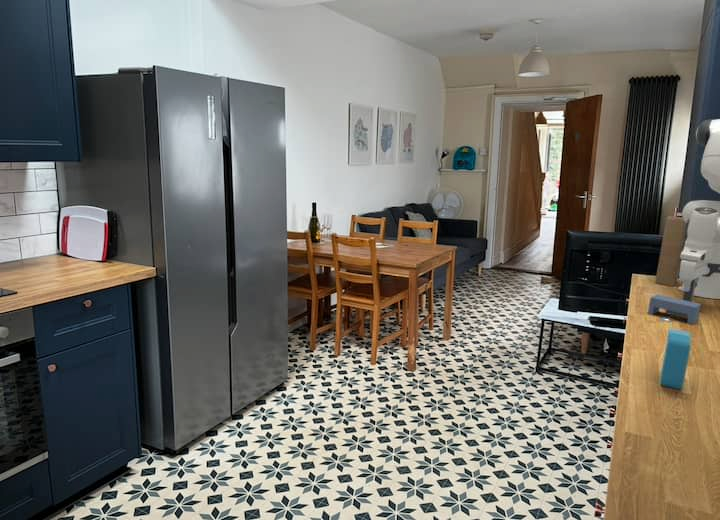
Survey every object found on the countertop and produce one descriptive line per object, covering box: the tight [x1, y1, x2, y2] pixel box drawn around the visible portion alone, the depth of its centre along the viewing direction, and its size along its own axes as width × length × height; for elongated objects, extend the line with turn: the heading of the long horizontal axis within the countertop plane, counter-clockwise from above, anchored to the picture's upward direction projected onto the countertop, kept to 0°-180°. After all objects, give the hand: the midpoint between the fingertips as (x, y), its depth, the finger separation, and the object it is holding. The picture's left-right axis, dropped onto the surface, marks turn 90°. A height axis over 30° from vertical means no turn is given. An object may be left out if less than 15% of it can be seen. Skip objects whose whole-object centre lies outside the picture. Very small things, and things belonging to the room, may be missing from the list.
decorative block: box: [654, 215, 686, 287], centre depth 234 cm, size 8×15×30 cm, turn 144°
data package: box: [660, 328, 692, 390], centre depth 129 cm, size 12×4×12 cm, turn 149°
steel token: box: [659, 316, 674, 323], centre depth 180 cm, size 4×4×1 cm
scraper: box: [665, 278, 697, 319], centre depth 190 cm, size 12×7×13 cm, turn 133°
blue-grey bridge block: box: [647, 294, 702, 325], centre depth 183 cm, size 7×14×6 cm, turn 43°
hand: (690, 289), depth 193 cm, fingers open, 8 cm apart
